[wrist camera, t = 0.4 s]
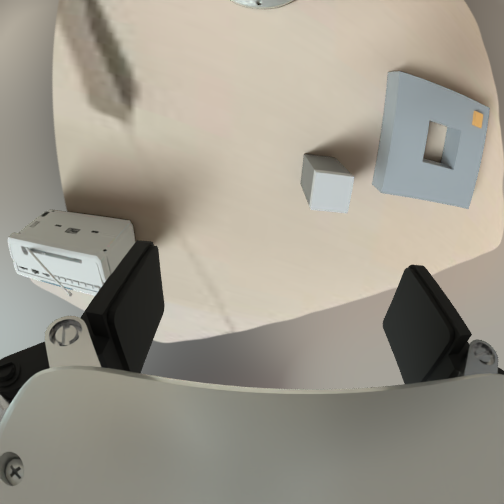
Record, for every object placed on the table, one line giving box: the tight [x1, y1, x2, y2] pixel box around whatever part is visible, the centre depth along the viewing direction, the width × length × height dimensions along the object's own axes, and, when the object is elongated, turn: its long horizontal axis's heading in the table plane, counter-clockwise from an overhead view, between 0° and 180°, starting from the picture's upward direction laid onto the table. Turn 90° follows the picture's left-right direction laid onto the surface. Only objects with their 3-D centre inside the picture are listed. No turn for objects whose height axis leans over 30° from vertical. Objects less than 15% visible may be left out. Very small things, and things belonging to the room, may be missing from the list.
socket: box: [372, 71, 490, 209], centre depth 34 cm, size 18×18×5 cm
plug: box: [301, 154, 354, 213], centre depth 36 cm, size 5×5×10 cm
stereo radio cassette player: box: [8, 210, 135, 296], centre depth 38 cm, size 21×8×20 cm, turn 81°
